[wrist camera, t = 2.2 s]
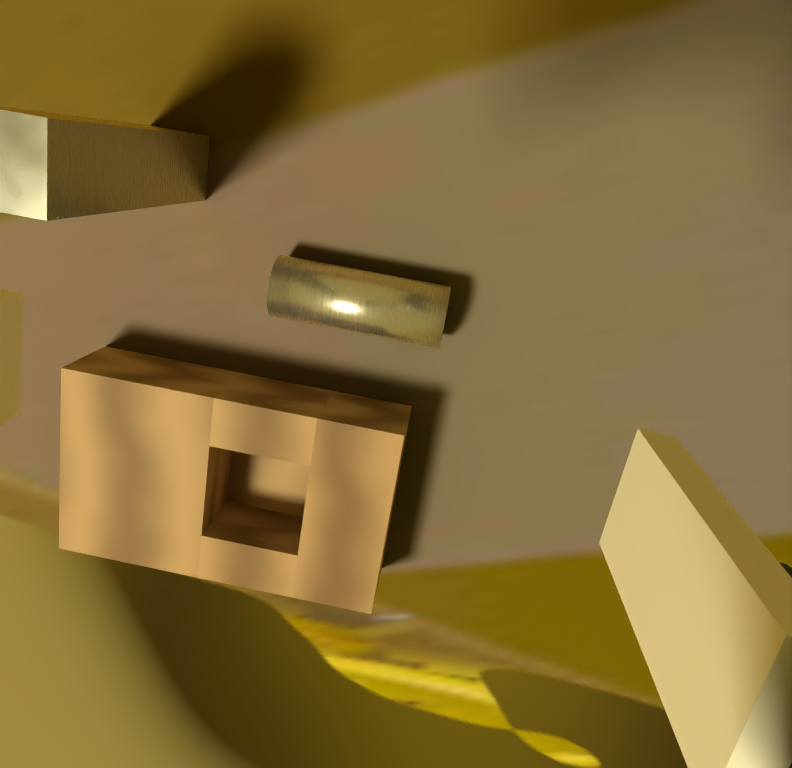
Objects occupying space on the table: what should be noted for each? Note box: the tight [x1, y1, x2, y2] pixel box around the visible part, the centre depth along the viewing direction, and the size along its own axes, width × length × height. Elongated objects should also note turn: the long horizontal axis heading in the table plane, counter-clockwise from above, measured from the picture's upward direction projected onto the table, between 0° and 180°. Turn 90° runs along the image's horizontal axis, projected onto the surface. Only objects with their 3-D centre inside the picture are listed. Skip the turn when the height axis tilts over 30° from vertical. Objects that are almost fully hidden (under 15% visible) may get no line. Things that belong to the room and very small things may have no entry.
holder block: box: [59, 346, 412, 614], centre depth 43 cm, size 20×12×5 cm, turn 80°
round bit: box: [267, 255, 451, 348], centre depth 40 cm, size 10×4×4 cm, turn 80°
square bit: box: [0, 107, 211, 221], centre depth 33 cm, size 4×4×16 cm
